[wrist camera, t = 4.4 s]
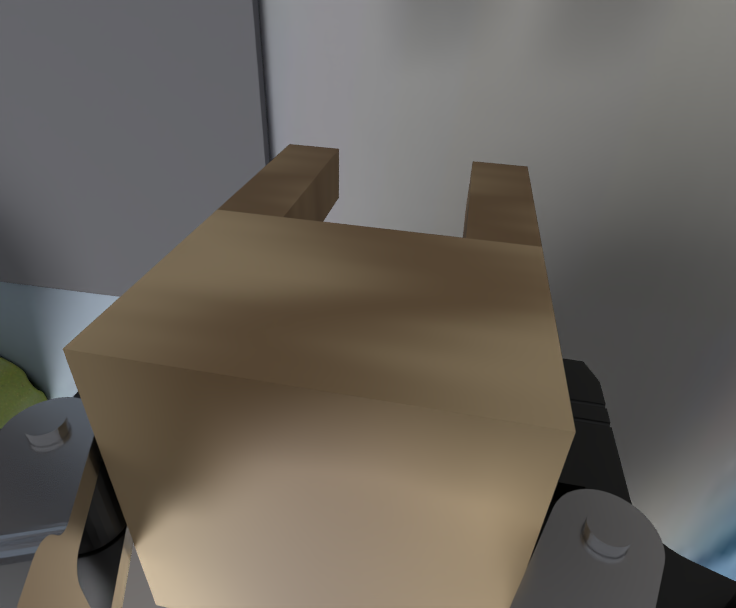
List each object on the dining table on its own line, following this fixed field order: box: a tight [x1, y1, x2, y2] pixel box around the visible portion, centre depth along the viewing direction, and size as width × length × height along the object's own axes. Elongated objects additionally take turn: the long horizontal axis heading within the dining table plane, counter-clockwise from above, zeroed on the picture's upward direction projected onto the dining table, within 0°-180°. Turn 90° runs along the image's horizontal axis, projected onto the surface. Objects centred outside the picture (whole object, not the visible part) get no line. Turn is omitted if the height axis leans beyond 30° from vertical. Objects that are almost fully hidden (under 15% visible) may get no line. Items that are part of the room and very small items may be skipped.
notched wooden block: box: [63, 144, 576, 608], centre depth 10 cm, size 6×6×8 cm
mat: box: [0, 0, 270, 297], centre depth 20 cm, size 14×14×1 cm
